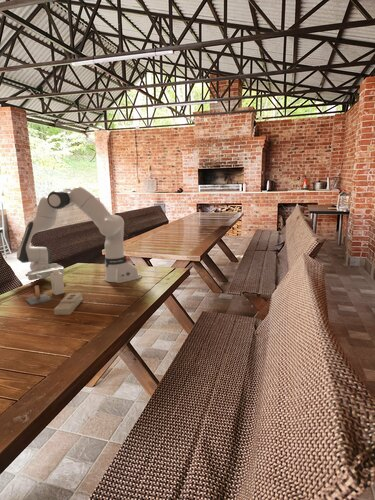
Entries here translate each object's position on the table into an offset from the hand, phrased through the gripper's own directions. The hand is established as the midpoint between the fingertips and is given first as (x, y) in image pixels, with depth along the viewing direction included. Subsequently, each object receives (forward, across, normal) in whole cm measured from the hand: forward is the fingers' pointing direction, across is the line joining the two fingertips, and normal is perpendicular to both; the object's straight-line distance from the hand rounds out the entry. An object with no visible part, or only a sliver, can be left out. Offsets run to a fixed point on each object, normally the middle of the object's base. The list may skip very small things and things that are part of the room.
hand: (50, 275), depth 180 cm
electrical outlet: (+36, -3, +8) cm, 37 cm away
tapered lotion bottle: (+12, 0, +7) cm, 14 cm away
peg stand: (+16, -12, +7) cm, 21 cm away
